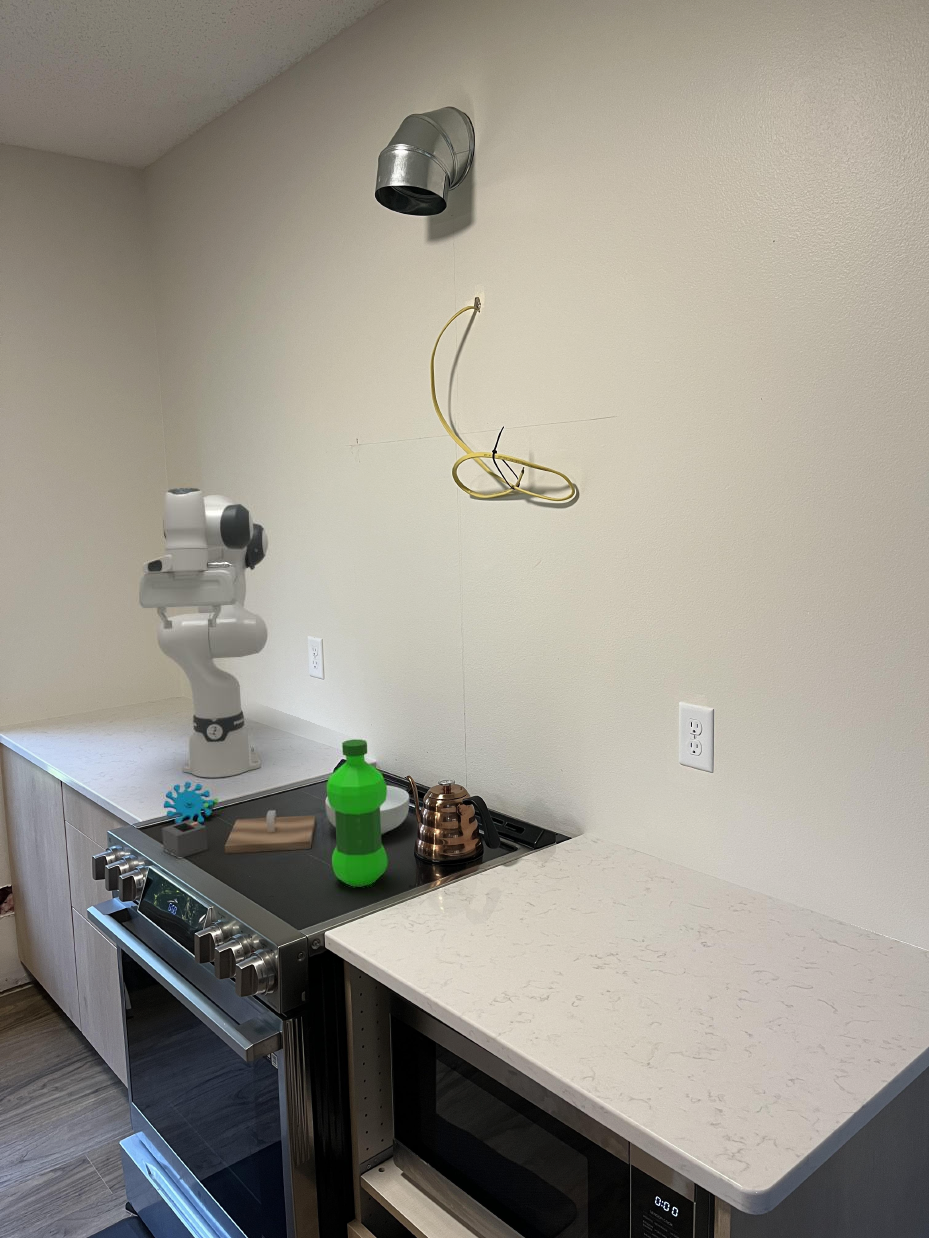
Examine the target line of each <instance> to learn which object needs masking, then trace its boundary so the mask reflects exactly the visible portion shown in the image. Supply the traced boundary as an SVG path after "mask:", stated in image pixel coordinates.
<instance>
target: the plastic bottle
mask: <svg viewBox="0 0 929 1238" xmlns="http://www.w3.org/2000/svg"><path fill="white" fill-rule="evenodd" d="M341 744H342V747H341V748H342V749H341V750H342V755H343V756H345V762H344V763H343V764H342V765H341V766H339V767H338V768H337V769H336V770H335V771H334V772H333V773H332V774H331V775H330V776H329V777H328V780H327V781H326V785H325V786H326V795H327V796H328V800H329V804H330V806H331V807H332V808H333V809H334V810H335V820H336V827H335V836H336V845H335V848H334V849H333V853H332V855H331V864H332V868H333V869H332V870H333V873H334V874H335V877H336V878H338V879H339V880H340V881H341V882H343V883H345V884H349V885H351V886H363V885H369V884H372V883H373V882H374V883H376V881H377V880H378V879H379V878H380V877H381V876H382V875H383V874H384V873H385V871H386V870H387V868H388V856H387V853H386V849H385V848H384V845H383V844H382V835H381V820H380V806H381V805H382V804H383V803H384V802H385V801H386V795H387V786H386V785H387V783H386V781H385V779H384V776H383V774H382V772H380V771H379V770H378V769H377V768H375V767H374V766H373V765H372V764H370V763H369V762H367V761H365V755H366V754H368V742H367V740H364V739H348V740H345V741H343V742H341ZM327 796H326V797H327ZM374 883H373V884H374ZM373 884H372V885H373ZM351 886H350V887H351Z"/></svg>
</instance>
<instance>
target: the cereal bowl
mask: <svg viewBox="0 0 929 1238" xmlns="http://www.w3.org/2000/svg"><path fill="white" fill-rule="evenodd" d="M386 786H387V795H386V801H385V802H384V803H383V804H382V805H381V806H380V820H381V836H382V835H384V834H385V833H387V832H389V831H392V830H394V829H396V828H397V827H400V825H401V824H402V823H403V822H404V821H405V819H406V818H407V816H408V814H409V810H410V809H409V808H410V794H409V793H408V791H406V790H404V788H403V789H402V788H400V787H398V786H393V785H388V784H386ZM325 813H326V816H327V819H328V821H329V822H330V823H331V824H332V825H333V827H335V828H336V820H335V810H334V809H333V808H332V807H331V806H330V804H329V800H328V796H326V798H325Z"/></svg>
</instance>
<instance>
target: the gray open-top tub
mask: <svg viewBox="0 0 929 1238" xmlns="http://www.w3.org/2000/svg"><path fill="white" fill-rule="evenodd" d="M161 831H162V832H161V833H162V844H163V850H164V849H165V850H167V851H168V852H170V853H173V854H174V855H176V856H178V857H183V858H185V857H189V856H192V855H195V854H197V853H201V852H203V851H207V850H208V836H207V835H208V834H207V826H205V825H202V823H200V824H199V823H198V822H197V821H194V820H193V819H192V820H189V819H188V820H184V821H181V822H180V823H177V824H176V823H174V824H171V825H168V826H163V827H162V828H161ZM168 852H167V853H168Z"/></svg>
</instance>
